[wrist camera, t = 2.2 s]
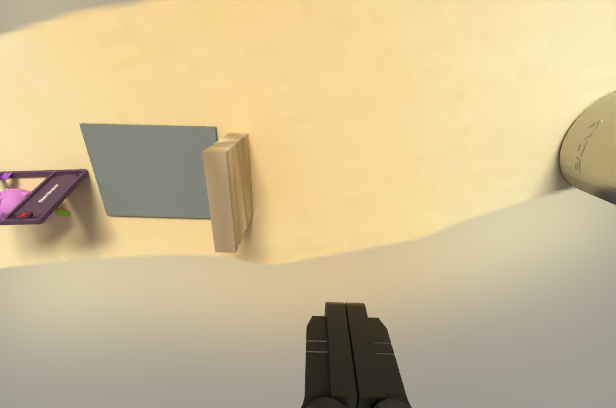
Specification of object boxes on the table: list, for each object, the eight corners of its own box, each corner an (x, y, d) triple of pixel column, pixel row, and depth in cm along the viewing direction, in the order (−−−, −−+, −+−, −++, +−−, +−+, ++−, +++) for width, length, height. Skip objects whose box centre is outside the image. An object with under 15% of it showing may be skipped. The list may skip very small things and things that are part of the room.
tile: (248, 133, 26) (225, 152, 19) (253, 213, 29) (235, 252, 22) (228, 132, 26) (199, 151, 19) (236, 212, 29) (213, 252, 22)
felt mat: (216, 126, 25) (214, 127, 25) (226, 217, 29) (225, 218, 29) (81, 123, 25) (79, 123, 25) (108, 214, 29) (106, 215, 29)
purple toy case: (32, 214, 22) (-80, 217, 22) (73, 254, 25) (-24, 256, 26) (82, 162, 27) (-10, 165, 27) (111, 203, 30) (30, 205, 31)
